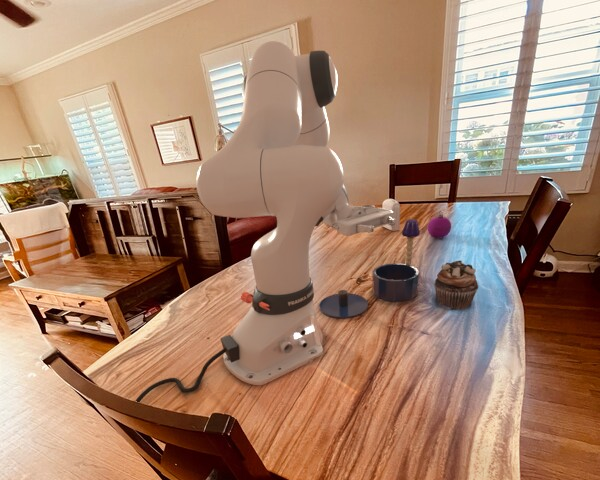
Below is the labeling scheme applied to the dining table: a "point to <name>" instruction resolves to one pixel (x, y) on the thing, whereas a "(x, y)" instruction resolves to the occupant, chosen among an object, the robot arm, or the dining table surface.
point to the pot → (395, 282)
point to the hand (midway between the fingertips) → (383, 226)
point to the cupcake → (456, 285)
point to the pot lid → (343, 305)
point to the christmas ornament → (439, 226)
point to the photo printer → (395, 207)
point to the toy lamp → (410, 237)
